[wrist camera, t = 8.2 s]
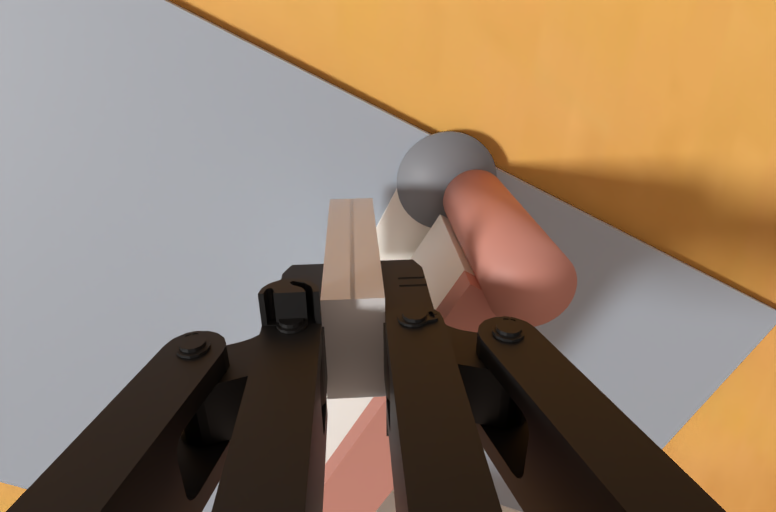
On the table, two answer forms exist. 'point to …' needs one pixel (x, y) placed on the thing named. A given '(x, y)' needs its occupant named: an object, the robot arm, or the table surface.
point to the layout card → (262, 222)
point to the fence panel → (452, 316)
